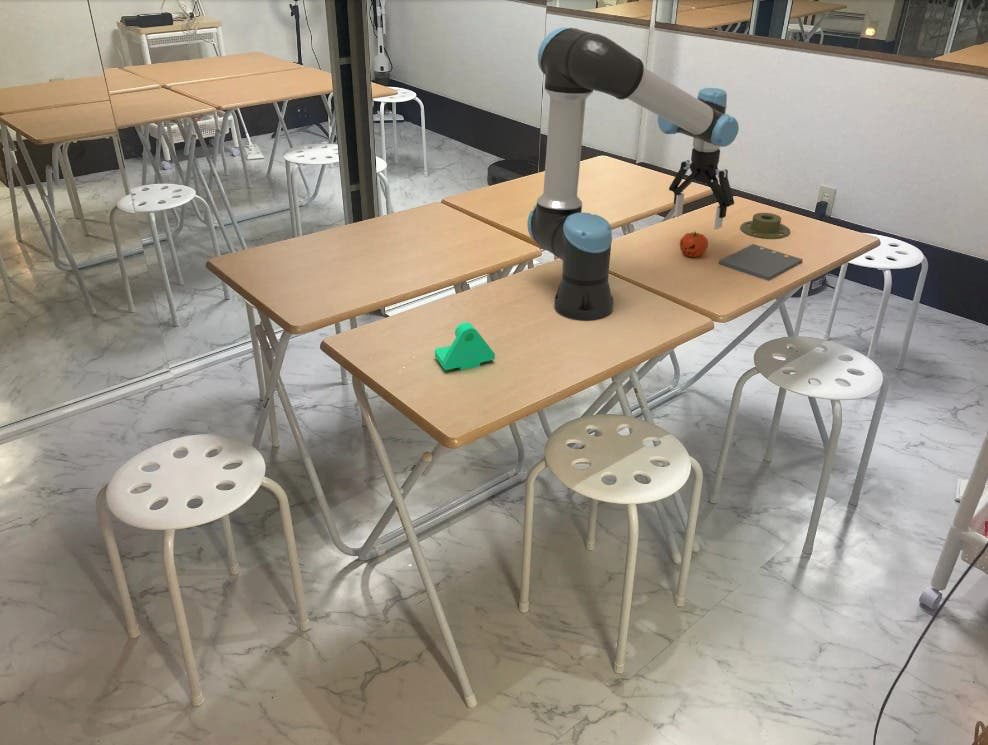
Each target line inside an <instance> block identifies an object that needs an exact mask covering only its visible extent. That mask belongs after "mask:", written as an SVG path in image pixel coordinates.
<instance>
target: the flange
mask: <svg viewBox="0 0 988 745" xmlns="http://www.w3.org/2000/svg"><path fill="white" fill-rule="evenodd" d="M781 222H782V217H781V216H780V215H778V214H775V213H771V212H770V213H769V212H758V213H755V214H753V216H752V219H751V220H748V221H745V222H743V223H741V225H740V226H739V230H740V231H741V232H742V233H744V234H745V235H747V236H749V237H753V238H756V239H762V240H763V239H764V240H778V239H779V240H780V239H784V238H786V237H789V235H790V234H791V229H790V228H789V227H788V226H786V225H785V224H782V223H781Z"/></svg>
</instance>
